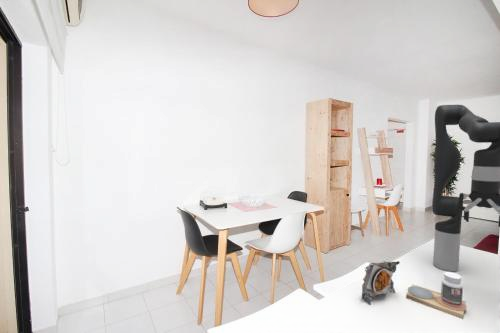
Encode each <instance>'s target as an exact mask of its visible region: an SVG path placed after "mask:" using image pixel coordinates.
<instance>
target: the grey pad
mask: <svg viewBox="0 0 500 333" xmlns="http://www.w3.org/2000/svg"><path fill="white" fill-rule="evenodd" d="M417 286H418V285H417ZM417 286H412V285H410V286H409V287H408V288H407V293H408V292H409V293H410V294H412V295H413V296H415V297H418V298H421V299H433V298H434V295H433V293H432V292H430V291H429V290H430V289H429V290H427V289H428V288H426V289H424V288H425V287H423V286H420V287H417ZM422 287H423V288H422Z"/></svg>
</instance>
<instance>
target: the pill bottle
mask: <svg viewBox="0 0 500 333" xmlns="http://www.w3.org/2000/svg"><path fill="white" fill-rule="evenodd" d="M443 277H444V278H442V280H441V287H440V288H441V289H440V293H441V300H442V301H443V302H444V303H445V304H447V305H450V306H453V307H460V306H462V300H463V293H464V292H463V291H464V290H463V289H464V288H463V287H464V285H463V283H462V276H461V275H460V274H458V273H455V272H453V271H445V272H444V273H443Z"/></svg>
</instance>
